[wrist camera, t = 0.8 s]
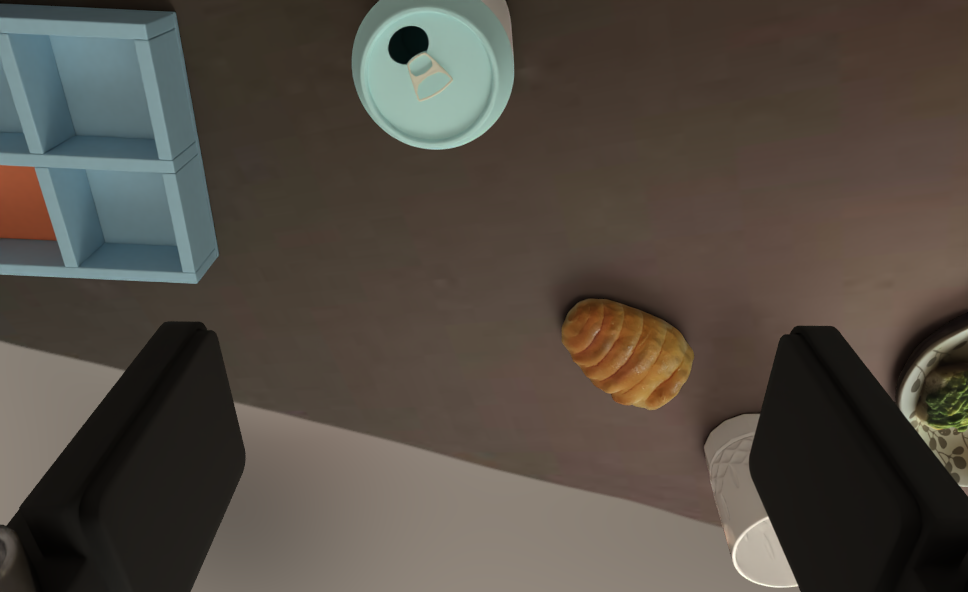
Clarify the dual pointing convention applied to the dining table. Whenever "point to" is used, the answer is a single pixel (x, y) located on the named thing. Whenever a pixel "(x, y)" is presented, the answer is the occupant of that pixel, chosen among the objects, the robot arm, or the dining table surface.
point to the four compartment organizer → (99, 148)
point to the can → (434, 68)
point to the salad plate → (940, 395)
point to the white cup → (744, 505)
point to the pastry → (627, 352)
